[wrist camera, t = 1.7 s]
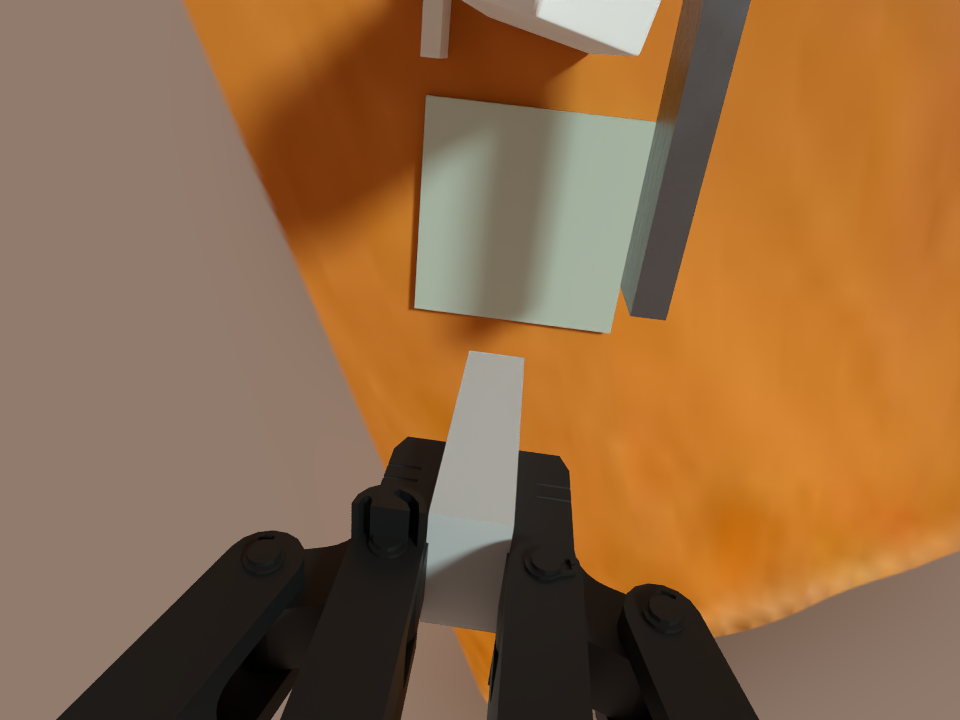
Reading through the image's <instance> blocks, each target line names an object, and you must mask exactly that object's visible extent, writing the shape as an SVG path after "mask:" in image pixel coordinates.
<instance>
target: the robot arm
mask: <svg viewBox="0 0 960 720" xmlns="http://www.w3.org/2000/svg"><path fill="white" fill-rule="evenodd" d="M523 372H524V358H522V357H515V356H507V355H500V354H492V353H485V352H477V351H469V354H468V358H467V362H466V366H465V370H464V374H463V378H462V382H461V386H460V390H459V394H458V398H457V402H456V406H455V410H454V414H453V418H452V422H451V426H450V430H449V434H448V438H447V442H443V441H436V440H428V439H421V438H414V437H407V438H406V439H405V440H404V441H402V442H401V443H400V444H399V445H398V446H396V447H395V448H394V450H393V453H392V456H391V458H390V461H389V465H388V466H387V469H386V472H385V474H384V478H383V480H382V482H381V485H378V486H374V487H370V488H368V489H366V490H364V491H363V492H361V493H360V494H358V495H357V497H356V498H355V499H354V501H353V502H352V530H351V533H352V534H351V539H349V540H348V541H345V542H343V543H340V544H338V545H334V546H329V547H322V548H313V549H304V548H303V546H302V545H301V543H300V542H299V540H298V539H297V538H295V537H293V536H292V535H290V534H288V533H284V532H279V531H264V532H258V533H255V534H252V535H249V536H247V537H244V538H242V539H241V540H240V541H238V542H237V543H235V544H234V545H233V546H231V548H229V550H227V551H226V552H225V553H224V554H223V555H222V556H221V557H220V558H219V559H218V560H217V561H216V562H215V563H214V564H213V565H212V566H211V567H210V568H209V569H208V570H207V571H206V572H205V573H204V574H203V575H202V576H201V577H200V578H199V579H198V580H197V581H196V582H195V583H194V584H193V585H192V586H191V587H190V588H189V589H188V590H187V591H186V592H185V593H184V594H183V595H182V596H181V597H180V598H179V599H178V600H177V601H176V602H175V603H174V604H173V605H172V606H171V607H170V608H169V609H168V610H167V611H166V612H165V613H164V614H163V615H162V616H161V617H160V618H159V619H158V620H157V621H156V622H155V623H154V624H153V625H152V626H150V627H149V628H148V629H147V631H146V632H144V633H143V634H142V635H141V636H140V637H139V638H138V639H137V641H135V642H134V643H133V644H132V646H130V647H129V648H128V649H127V650H126V651H125V652H124V653H123V654H122V655H121V656H120V657H119V658H118V659H117V660H116V661H115V662H114V663H113V664H112V665H111V666H110V667H109V668H108V669H107V670H106V671H105V672H104V673H103V674H102V675H101V676H100V677H99V678H98V679H97V680H96V681H95V682H94V683H93V684H92V685H91V686H90V687H89V688H88V689H87V690H86V691H85V692H84V693H83V694H82V695H81V696H80V697H79V698H78V699H77V700H76V701H75V702H74V703H73V704H72V705H71V706H70V707H69V708H68V709H66V710H65V711H64V713H62V715H61V716H60V717H58V718H57V719H56V720H271V719H272V717H273V716H274V714H275V713H276V711H277V710H278V708H279V707H280V705H281V704H282V702H283V701H284V699H285V698H286V697H287V695H288V694H289V692H290V691H291V689H292V691H291V693H290V696H289V699H288V701H287V704H286V706H285V709H284V711H283V714H282V716H281V719H280V720H401V715H402V711H403V705H404V701H405V696H406V692H407V687H408V682H409V677H410V673H411V668H412V663H413V659H414V654H415V649H416V640H417V628H418V624H419V619H420V622H426V623H433V624H440V625H447V626H453V627H460V628H466V629H473V630H480V631H486V632H493V633H496V639H495V645H494V651H493V657H492V663H491V669H490V675H489V681H488V685H490V690H489V701H488V713H487V714H488V715H487V720H593V713H592V709H594V710H595V714H596V718H597V720H759V719H758V717H757V715H756V713H755V712H754V710H753V708H752V706H751V704H750V702H749V701H748V699H747V697H746V695H745V693H744V692H743V690H742V688H741V686H740V684H739V683H738V681H737V679H736V677H735V675H734V674H733V672H732V670H731V668H730V666H729V665H728V663H727V661H726V659H725V657H724V656H723V654H722V652H721V650H720V649H719V647H718V645H717V643H716V641H715V639H714V638H713V636H712V634H711V632H710V630H709V629H708V627H707V625H706V623H705V621H704V620H703V618H702V616H701V614H700V612H699V611H698V610H697V609H696V607H695V606H694V605H693V604H692V602H691V601H690V600H689V599H687V598H686V597H684V596H683V595H682V594H680V593H679V592H678V591H675V590H673V589H671V588H668V587H666V586H663V585H656V584H644V585H640V586H635V587H634V588H633V589H632V590H631V591H629V592H628V593H627V595H626V594H624V593H621V592H619V591H617V590H614V589H612V588H609V587H607V586H605V585H603V584H601V583H599V582H597V581H596V580H595V579H593V578H592V577H591V576H589V575H588V574H587V573H586V572H585V571H584V570H583V568H582V567H581V566H580V563H579V560H578V559H577V558H576V556H575V551H574V539H573V523H572V508H571V492H570V476H569V470H568V469H567V467H566V466H565V464H564V463H563V461H562V459H561V458H560V456H555V455H548V454H540V453H533V452H526V451H519V437H520V421H521V404H522V388H523Z"/></svg>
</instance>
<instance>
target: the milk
mask: <svg viewBox="0 0 960 720" xmlns="http://www.w3.org/2000/svg"><path fill="white" fill-rule="evenodd" d="M462 1H464V2H465V3H467V4H468V5H470V6H472V7H473V8H475V9H476V10H478V11H480V12H481V13H483V14H484V15H486V16H488V17H489V18H492V19H495V20H498V21H500V22H503V23H506V24H509V25H511V26H514V27H517V28H520V29H522V30H525V31H528V32H531V33H533V34H536V35H539V36H542V37H544V38H547V39H550V40H553V41H555V42H558V43H561V44H564V45H566V46H569V47H572V48H575V49H577V50H580V51H583V52H586V53H588V54H604V55H622V56H638V55H639V54H640V52H641V50H642V47H643V45H644V42H645V40H646V37H647V35H648V32H649V30H650V27H651V25H652V22H653V20H654V17H655V14H656V12H657V9H658V7H659V4H660V2H661V0H462Z"/></svg>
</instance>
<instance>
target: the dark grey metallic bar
mask: <svg viewBox="0 0 960 720" xmlns="http://www.w3.org/2000/svg"><path fill="white" fill-rule="evenodd" d="M750 1H751V0H683V4H682V8H681V13H680V17H679V22H678V26H677V31H676V35H675V40H674V45H673V49H672V54H671V58H670V63H669V67H668V72H667V76H666V81H665V85H664V90H663V94H662V99H661V103H660V108H659V112H658V117H657V121H656V126H655V131H654V135H653V140H652V144H651V149H650V153H649V158H648V162H647V167H646V171H645V176H644V180H643V185H642V189H641V194H640V198H639V203H638V207H637V212H636V217H635V221H634V226H633V230H632V235H631V239H630V244H629V248H628V253H627V257H626V262H625V266H624V271H623V275H622V280H621V284H620V286H621V289H622V292H623V295H624V298H625V301H626V304H627V307H628V310H629V313H630V316H635V317H643V318H651V319H658V320H666V317H667V314H668V310H669V306H670V302H671V299H672V295H673V291H674V287H675V284H676V280H677V276H678V272H679V268H680V265H681V261H682V257H683V253H684V250H685V246H686V242H687V238H688V235H689V231H690V227H691V223H692V219H693V216H694V212H695V208H696V204H697V201H698V197H699V193H700V189H701V186H702V182H703V178H704V174H705V170H706V167H707V163H708V159H709V155H710V152H711V148H712V144H713V140H714V137H715V133H716V129H717V125H718V122H719V118H720V114H721V110H722V106H723V103H724V99H725V95H726V91H727V88H728V84H729V80H730V76H731V73H732V69H733V65H734V61H735V57H736V54H737V50H738V46H739V42H740V39H741V35H742V31H743V27H744V24H745V20H746V16H747V12H748V9H749V5H750Z"/></svg>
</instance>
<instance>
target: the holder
mask: <svg viewBox="0 0 960 720" xmlns="http://www.w3.org/2000/svg"><path fill="white" fill-rule="evenodd" d="M451 2H452V0H423V11H422V31H421V52H420V57H429V58H437V59H443V58H448V46H449V31H450V16H451Z"/></svg>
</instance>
